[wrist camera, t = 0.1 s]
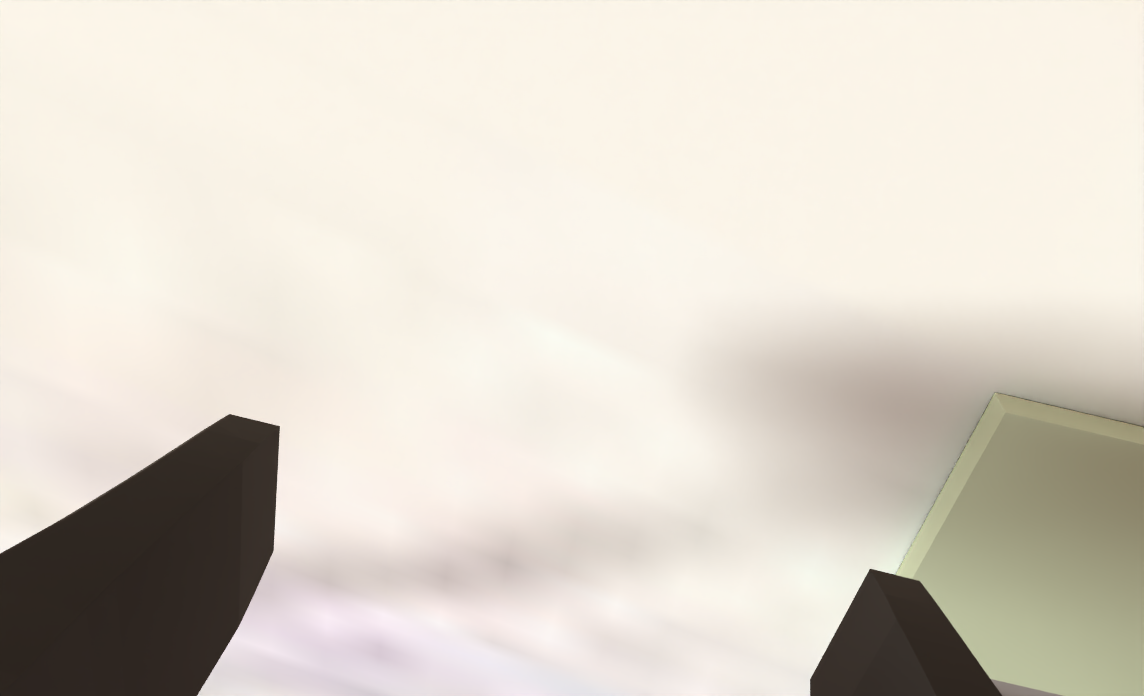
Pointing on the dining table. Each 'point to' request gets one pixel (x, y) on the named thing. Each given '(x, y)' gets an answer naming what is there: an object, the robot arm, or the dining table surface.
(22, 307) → the dining table surface
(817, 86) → the dining table surface
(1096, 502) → the chute
